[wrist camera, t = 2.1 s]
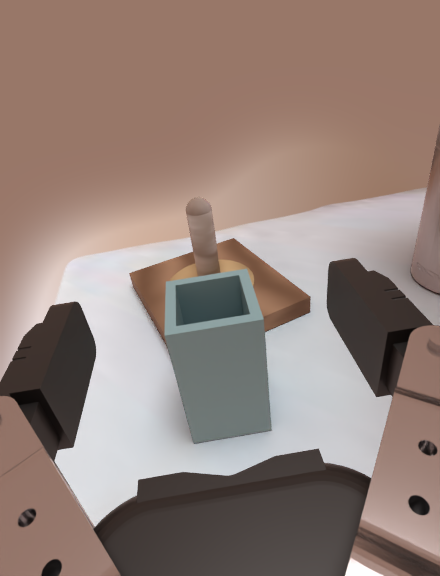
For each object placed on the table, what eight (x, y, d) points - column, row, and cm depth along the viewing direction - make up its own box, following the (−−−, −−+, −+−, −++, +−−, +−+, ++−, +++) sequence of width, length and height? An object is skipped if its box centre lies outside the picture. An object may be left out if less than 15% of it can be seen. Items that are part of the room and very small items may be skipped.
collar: (256, 372, 33) (246, 268, 27) (271, 430, 28) (263, 319, 22) (190, 383, 33) (165, 281, 27) (193, 443, 28) (164, 335, 22)
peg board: (234, 250, 52) (225, 163, 45) (310, 312, 39) (312, 202, 32) (133, 286, 48) (105, 195, 41) (179, 369, 35) (150, 255, 28)
